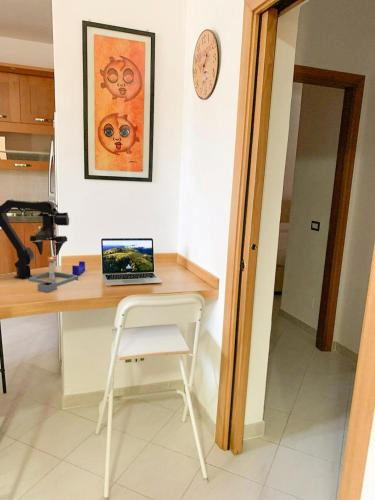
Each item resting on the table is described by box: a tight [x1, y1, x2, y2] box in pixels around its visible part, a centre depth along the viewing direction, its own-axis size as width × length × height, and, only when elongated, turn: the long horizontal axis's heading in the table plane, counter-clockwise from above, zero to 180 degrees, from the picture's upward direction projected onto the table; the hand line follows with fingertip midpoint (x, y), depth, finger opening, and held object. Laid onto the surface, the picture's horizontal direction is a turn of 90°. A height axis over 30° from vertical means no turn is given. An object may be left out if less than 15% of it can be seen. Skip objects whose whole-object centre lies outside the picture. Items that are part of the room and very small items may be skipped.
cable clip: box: [71, 260, 86, 277], centre depth 213 cm, size 12×4×6 cm, turn 176°
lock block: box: [37, 280, 58, 293], centre depth 177 cm, size 6×6×4 cm
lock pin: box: [46, 256, 56, 282], centre depth 190 cm, size 4×4×14 cm
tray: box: [28, 271, 79, 287], centre depth 194 cm, size 18×16×3 cm
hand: (48, 255), depth 199 cm, fingers open, 9 cm apart
